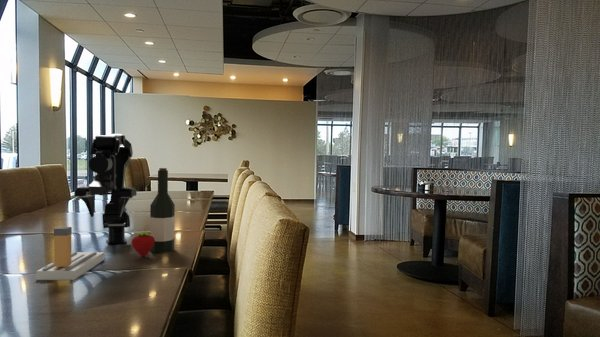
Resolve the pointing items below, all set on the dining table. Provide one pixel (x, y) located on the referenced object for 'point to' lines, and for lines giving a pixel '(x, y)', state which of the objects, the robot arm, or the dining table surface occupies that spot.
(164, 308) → the dining table surface
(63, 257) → the fader lever
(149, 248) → the strawberry
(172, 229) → the wine bottle
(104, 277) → the dining table surface
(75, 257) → the dimmer console
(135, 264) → the dining table surface
